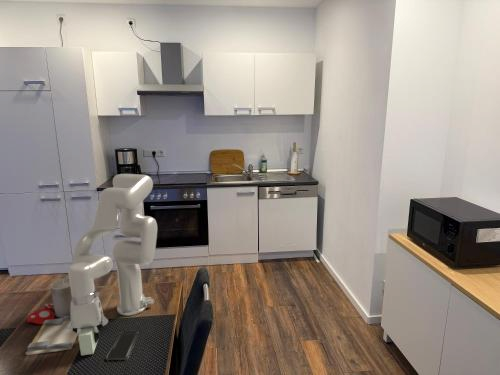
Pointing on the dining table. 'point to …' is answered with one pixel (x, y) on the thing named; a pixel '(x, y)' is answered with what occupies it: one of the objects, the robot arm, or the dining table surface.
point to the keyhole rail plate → (53, 337)
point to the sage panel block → (87, 340)
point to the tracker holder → (42, 315)
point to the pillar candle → (61, 297)
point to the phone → (122, 346)
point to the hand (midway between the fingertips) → (90, 340)
